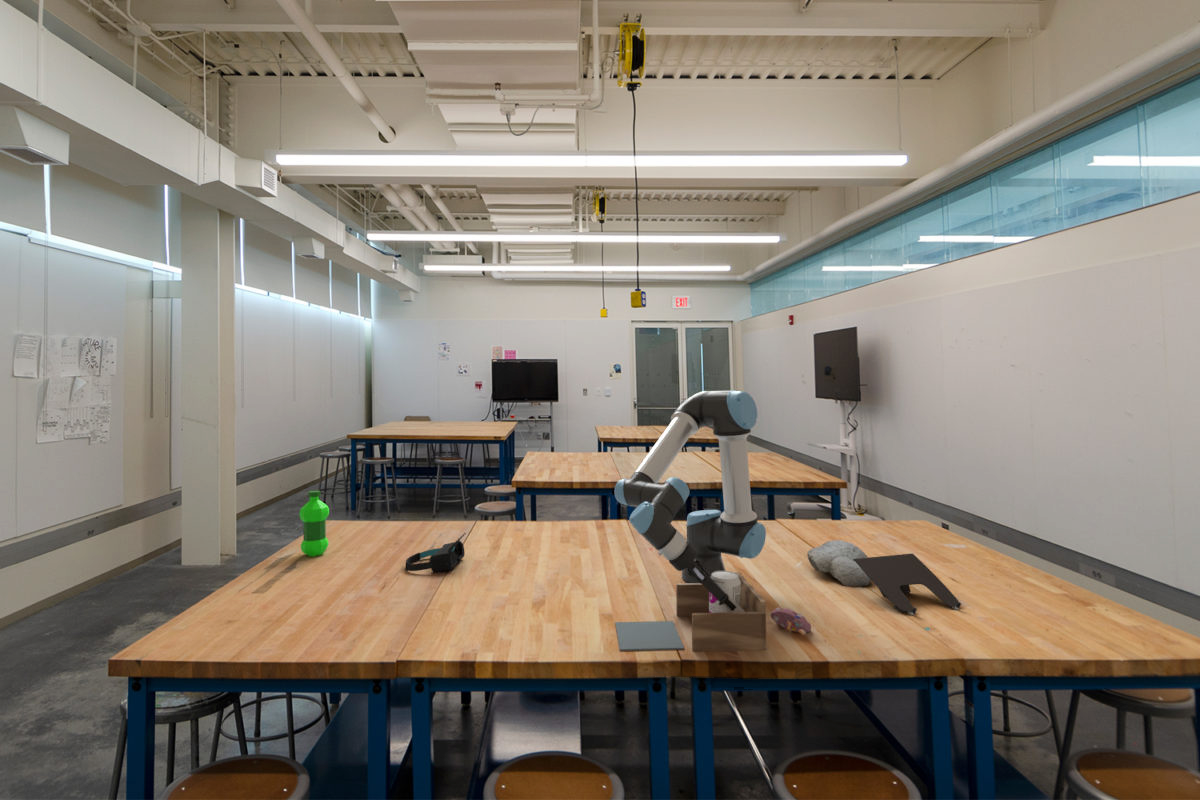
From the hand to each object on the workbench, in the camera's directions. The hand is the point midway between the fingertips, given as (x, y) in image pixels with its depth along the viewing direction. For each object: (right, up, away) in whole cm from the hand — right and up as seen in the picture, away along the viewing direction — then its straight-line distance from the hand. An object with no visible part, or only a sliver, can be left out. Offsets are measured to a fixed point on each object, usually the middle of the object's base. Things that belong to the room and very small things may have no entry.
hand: (737, 609), depth 148 cm
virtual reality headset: (-98, -6, +57) cm, 113 cm away
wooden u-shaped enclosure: (-5, -6, 0) cm, 8 cm away
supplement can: (-3, -6, 0) cm, 7 cm away
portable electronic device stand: (+58, -6, +21) cm, 62 cm away
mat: (-24, -6, -3) cm, 25 cm away
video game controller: (+15, -6, +1) cm, 16 cm away
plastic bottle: (-150, -5, +71) cm, 166 cm away
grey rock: (+48, -5, +47) cm, 68 cm away
